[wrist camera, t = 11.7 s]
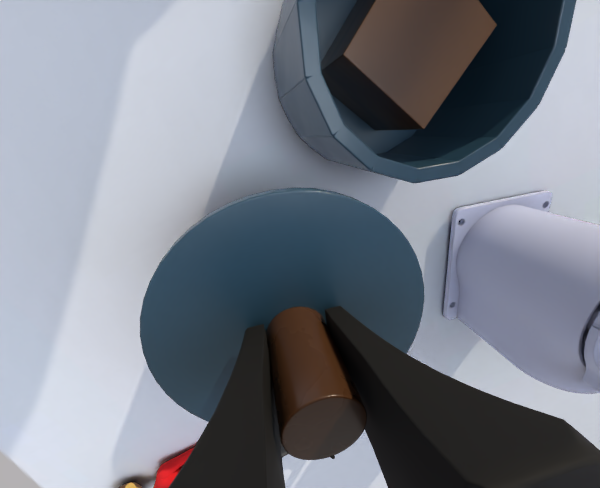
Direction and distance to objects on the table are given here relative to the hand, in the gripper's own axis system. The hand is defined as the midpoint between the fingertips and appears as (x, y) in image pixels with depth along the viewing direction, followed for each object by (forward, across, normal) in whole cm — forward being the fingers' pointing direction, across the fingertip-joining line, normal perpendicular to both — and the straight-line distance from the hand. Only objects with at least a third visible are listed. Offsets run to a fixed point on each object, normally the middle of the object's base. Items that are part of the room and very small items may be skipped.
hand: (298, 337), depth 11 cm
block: (+8, -7, -10) cm, 14 cm away
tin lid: (+1, 0, 0) cm, 1 cm away
